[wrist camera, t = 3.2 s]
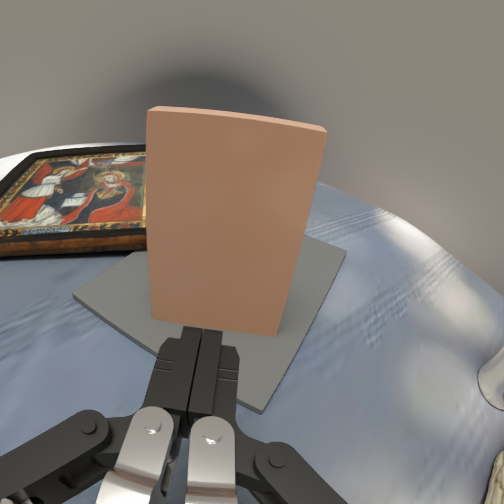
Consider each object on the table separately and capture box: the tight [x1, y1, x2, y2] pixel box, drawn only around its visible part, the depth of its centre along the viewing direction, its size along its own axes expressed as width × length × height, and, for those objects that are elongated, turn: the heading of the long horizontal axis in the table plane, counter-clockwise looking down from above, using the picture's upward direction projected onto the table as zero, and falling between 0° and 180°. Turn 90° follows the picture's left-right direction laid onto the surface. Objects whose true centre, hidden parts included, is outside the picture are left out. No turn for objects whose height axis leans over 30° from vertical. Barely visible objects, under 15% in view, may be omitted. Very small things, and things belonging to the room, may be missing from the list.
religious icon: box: [0, 144, 147, 257], centre depth 42 cm, size 38×35×3 cm
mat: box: [72, 235, 347, 414], centre depth 31 cm, size 19×24×1 cm
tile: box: [145, 106, 328, 336], centre depth 21 cm, size 2×10×16 cm, turn 88°
